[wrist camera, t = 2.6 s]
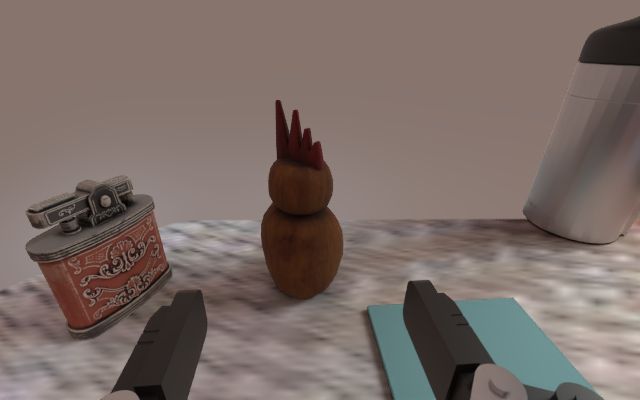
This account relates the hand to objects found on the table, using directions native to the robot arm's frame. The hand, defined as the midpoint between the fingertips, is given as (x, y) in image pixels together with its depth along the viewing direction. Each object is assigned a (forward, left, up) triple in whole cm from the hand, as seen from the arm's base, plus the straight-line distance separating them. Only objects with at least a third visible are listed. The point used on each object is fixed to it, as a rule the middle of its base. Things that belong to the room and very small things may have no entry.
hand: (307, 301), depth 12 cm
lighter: (+14, -11, -10) cm, 20 cm away
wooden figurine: (0, -12, -10) cm, 15 cm away
